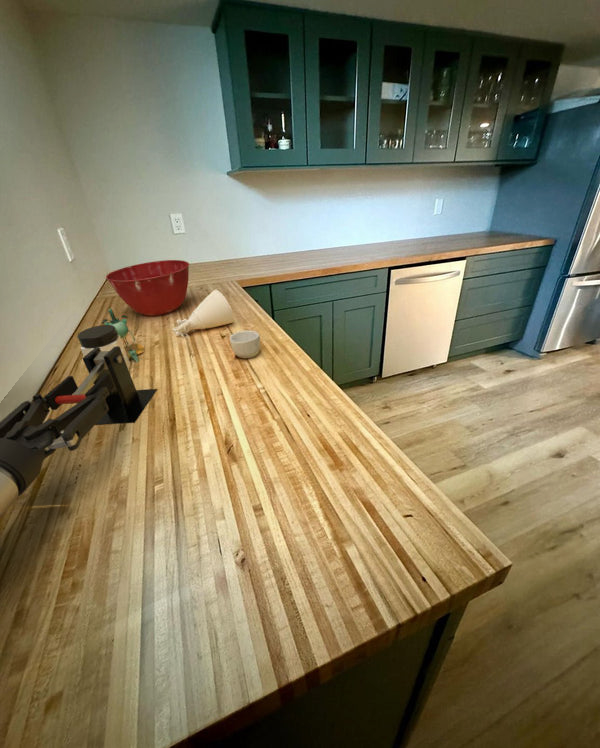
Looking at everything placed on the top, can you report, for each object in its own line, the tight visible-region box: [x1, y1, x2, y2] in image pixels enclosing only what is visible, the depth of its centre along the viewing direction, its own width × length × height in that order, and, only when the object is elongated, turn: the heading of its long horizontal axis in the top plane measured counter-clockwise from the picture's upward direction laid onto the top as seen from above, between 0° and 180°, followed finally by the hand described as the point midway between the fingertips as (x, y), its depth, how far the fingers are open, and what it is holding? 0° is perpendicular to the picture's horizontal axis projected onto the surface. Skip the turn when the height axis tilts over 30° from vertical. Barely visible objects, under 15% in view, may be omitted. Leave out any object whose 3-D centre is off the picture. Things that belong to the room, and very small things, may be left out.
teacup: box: [229, 329, 261, 359], centre depth 89 cm, size 10×8×5 cm
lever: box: [55, 351, 109, 405], centre depth 61 cm, size 13×6×2 cm, turn 0°
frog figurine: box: [101, 308, 145, 363], centre depth 92 cm, size 10×18×15 cm, turn 27°
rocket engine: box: [172, 289, 235, 338], centre depth 105 cm, size 12×12×18 cm
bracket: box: [82, 346, 158, 426], centre depth 68 cm, size 12×10×14 cm
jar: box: [76, 324, 131, 370], centre depth 82 cm, size 9×8×12 cm
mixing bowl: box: [105, 259, 190, 317], centre depth 125 cm, size 28×28×15 cm
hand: (91, 381), depth 61 cm, fingers closed on lever, 6 cm apart
